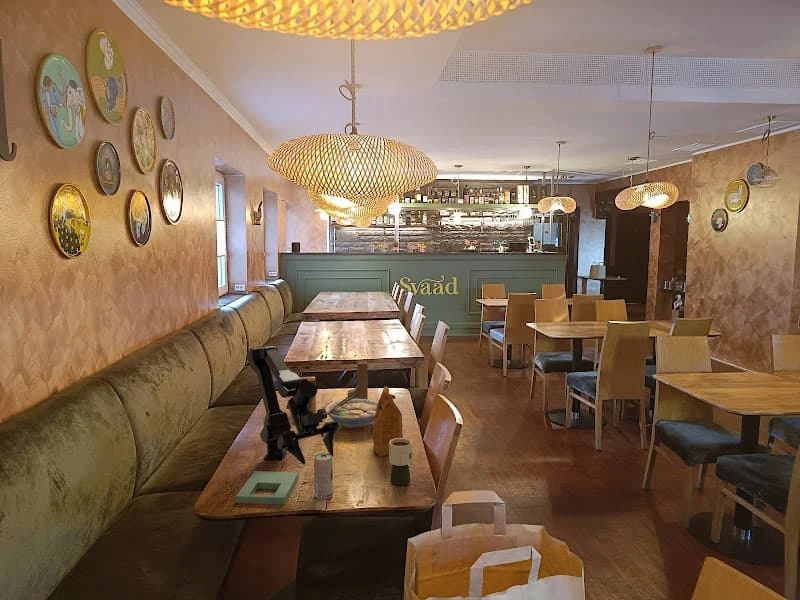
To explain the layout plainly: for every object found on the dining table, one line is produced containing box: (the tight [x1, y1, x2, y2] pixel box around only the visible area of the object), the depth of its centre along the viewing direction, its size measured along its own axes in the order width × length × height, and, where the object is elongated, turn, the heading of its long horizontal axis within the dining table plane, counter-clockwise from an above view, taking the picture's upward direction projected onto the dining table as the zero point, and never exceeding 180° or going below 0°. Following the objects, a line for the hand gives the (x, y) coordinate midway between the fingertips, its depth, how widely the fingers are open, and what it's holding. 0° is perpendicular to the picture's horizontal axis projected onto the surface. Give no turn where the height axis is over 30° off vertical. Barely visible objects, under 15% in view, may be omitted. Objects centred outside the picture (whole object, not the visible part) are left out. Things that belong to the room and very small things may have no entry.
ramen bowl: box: [325, 394, 378, 430], centre depth 214 cm, size 25×23×8 cm
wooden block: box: [347, 361, 369, 400], centre depth 243 cm, size 9×4×18 cm, turn 96°
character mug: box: [388, 437, 413, 485], centre depth 166 cm, size 11×7×13 cm, turn 10°
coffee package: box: [372, 385, 404, 457], centre depth 189 cm, size 10×12×22 cm
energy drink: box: [313, 452, 334, 501], centre depth 157 cm, size 5×5×12 cm
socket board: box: [235, 470, 299, 505], centre depth 161 cm, size 16×14×2 cm
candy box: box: [299, 376, 317, 413], centre depth 228 cm, size 9×4×15 cm, turn 99°
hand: (318, 460), depth 159 cm, fingers open, 9 cm apart
